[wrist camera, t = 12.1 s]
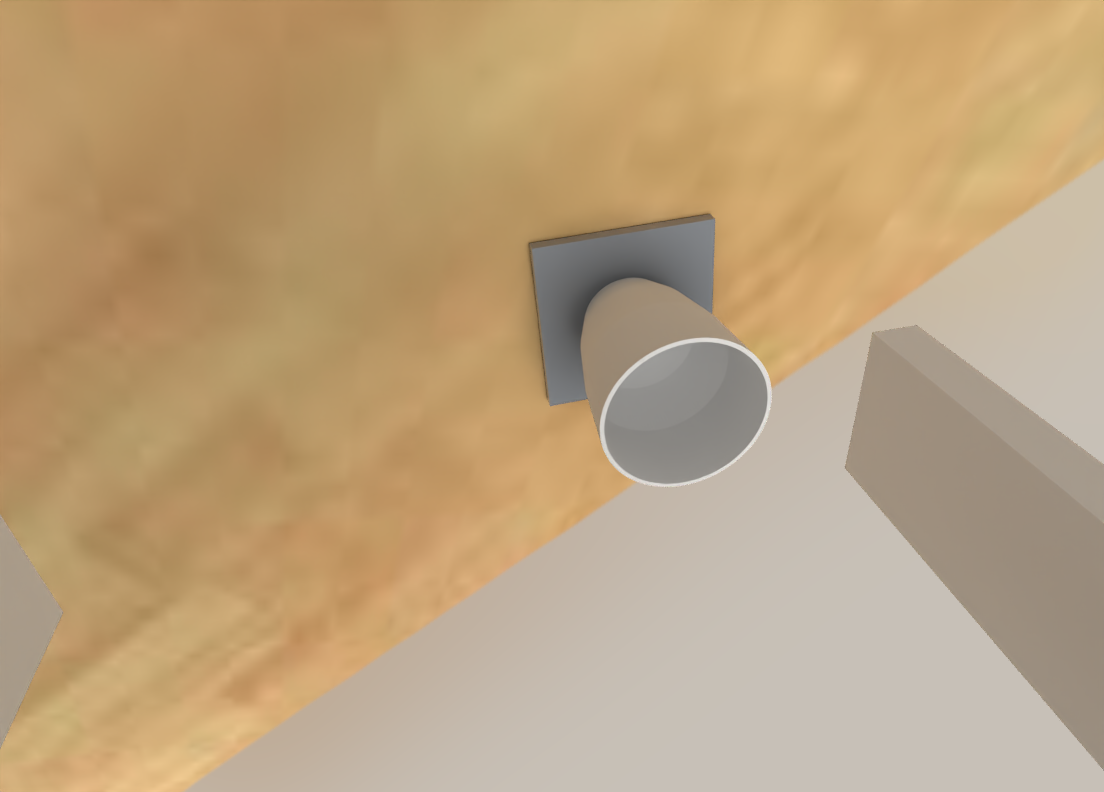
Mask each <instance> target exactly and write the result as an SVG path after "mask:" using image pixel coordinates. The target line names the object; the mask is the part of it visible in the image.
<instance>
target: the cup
mask: <svg viewBox="0 0 1104 792" xmlns="http://www.w3.org/2000/svg"><path fill="white" fill-rule="evenodd" d="M581 357H582V366H583V374H584V383H585V390H586V395H587V398H588V401H589V404H590V408H591V411H592V414H593V418H594V421H595V424H596V427H597V431H598V434H599V437H600V440H601V444H602V447H603V450H604V452H605V454H606V456H607V458H608V459H609V461H610V462H611V464H612V465H613V466H614V467H615V468H616V469H617V470H618V471H619V472H621V473H622V474H623V475H625V476H626V477H628V478H630V479H632V480H634V481H636V482H639V483H642V484H646V485H651V486H659V487H673V486H682V485H688V484H692V483H695V482H699V481H701V480H704V479H707V478H709V477H711V476H713V475H715V474H717V473H719V472H721V471H723V470H724V469H726V468H727V467H729V466H730V465H732V464H733V463H734V462H735V461H737V460H738V459H739V458H740V457H741V456H743V454H745V453H746V452H747V451H748V449H749V448H750V447H751V446H752V445H753V444H754V442H755V441H756V439H757V438H758V437H759V435H760V433H761V431H762V430H763V428H764V426H765V423H766V421H767V418H768V415H769V412H770V408H771V401H772V390H771V383H770V379H769V376H768V374H767V371H766V369H765V368H764V366H763V364H762V363H761V362H760V360H759V359H758V358H757V357H756V356H755V355H754V354H753V353H752V352H751V351H750V350H749V349H748V348H747V347H746V346H745V345H744V344H743V343H742V342H741V341H740V340H739V339H738V338H737V337H736V336H735V335H733V334H732V333H731V332H730V331H729V330H728V329H727V328H726V327H725V326H724V325H723V324H722V323H721V322H720V321H719V320H718V319H717V318H716V317H715V316H714V315H713V314H711V313H710V312H708V311H707V310H705V309H704V308H702V307H701V306H699V305H698V304H696V303H695V302H693V301H692V300H690V299H689V298H687V297H686V296H684V295H683V294H681V293H680V292H678V291H677V290H675V289H673V288H671V287H668V286H665V285H662V284H659V283H656V282H653V281H650V280H647V279H643V278H635V277H632V278H624V279H620V280H617V281H614V282H612V283H610V284H608V285H607V286H605V287H604V288H602V289H601V290H600V291H599V292H598V293H597V294H596V295H595V296H594V297H593V299H592V300H591V302H590V303H589V305H588V307H587V310H586V313H585V317H584V324H583V330H582V336H581Z"/></svg>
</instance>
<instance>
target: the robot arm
mask: <svg viewBox="0 0 1104 792" xmlns="http://www.w3.org/2000/svg"><path fill="white" fill-rule="evenodd" d="M845 469H846V470H847V471H848V472H849V473H850V475H851V476H852V477H853V478H854V479H855V480H856V482H857V483H858V484H859V485H860V486H861V487H862V489H863V490H864V491H865V492H866V493H867V494H868V496H869V497H870V498H871V499H872V500H873V501H874V503H875V504H876V505H877V506H878V507H879V508H880V509H881V511H882V512H883V513H884V514H885V515H886V517H887V518H888V519H889V520H890V521H891V522H892V524H893V525H894V526H895V527H896V528H897V529H898V530H899V532H900V533H901V534H902V535H903V536H904V538H905V539H906V540H907V541H908V542H909V543H910V545H912V547H913V548H914V549H915V550H916V552H917V553H918V554H919V555H920V556H921V557H922V559H923V560H924V561H925V562H926V563H927V564H928V566H929V567H930V568H931V569H932V570H933V571H934V573H935V574H936V575H937V576H938V577H939V578H940V580H941V581H942V582H943V583H944V584H945V586H946V587H947V588H948V589H949V590H950V591H951V593H952V594H953V595H954V596H955V597H956V598H957V600H958V601H959V602H960V603H961V604H962V605H963V606H964V608H965V609H966V610H967V611H968V612H969V613H970V615H971V616H972V617H973V618H974V619H975V620H976V622H977V623H978V624H979V625H980V626H981V628H982V629H983V630H984V631H985V632H986V633H987V635H989V637H990V638H991V639H992V640H993V641H994V643H995V644H996V645H997V646H998V647H999V649H1000V650H1001V651H1002V652H1003V653H1004V654H1005V656H1006V657H1007V658H1008V659H1009V660H1010V661H1011V663H1012V664H1013V665H1014V666H1015V667H1016V668H1017V670H1018V671H1019V672H1020V673H1021V674H1022V675H1023V677H1024V678H1025V679H1026V680H1027V681H1028V682H1029V684H1030V685H1031V686H1032V687H1033V688H1034V689H1035V691H1036V692H1037V693H1038V694H1039V695H1040V696H1041V698H1042V699H1043V700H1044V701H1045V702H1046V703H1047V705H1048V706H1049V707H1050V708H1051V709H1052V710H1053V711H1054V713H1055V714H1056V715H1057V716H1058V717H1059V719H1060V720H1061V721H1062V722H1063V723H1064V724H1065V726H1066V727H1067V728H1068V729H1069V730H1070V731H1071V733H1072V734H1073V735H1074V736H1075V737H1076V738H1077V740H1078V741H1079V742H1080V743H1081V744H1082V746H1083V747H1084V748H1085V749H1086V750H1087V751H1088V752H1089V754H1090V755H1091V756H1092V757H1093V758H1094V759H1095V761H1096V762H1097V763H1098V764H1099V765H1100V767H1101V768H1102V769H1103V770H1104V464H1102V463H1101V462H1100V461H1098V460H1097V459H1096V458H1095V457H1093V456H1092V455H1091V454H1089V453H1088V452H1086V451H1085V450H1084V449H1082V448H1081V447H1080V446H1078V445H1077V444H1076V443H1074V442H1073V441H1072V440H1070V439H1069V438H1068V437H1066V436H1065V435H1064V434H1062V433H1061V432H1059V431H1058V430H1057V429H1056V428H1054V427H1053V426H1052V425H1050V424H1049V423H1047V422H1046V421H1045V420H1044V419H1042V418H1041V417H1039V416H1038V415H1037V414H1035V413H1034V412H1033V411H1031V410H1030V409H1029V408H1027V407H1026V406H1024V405H1023V404H1022V403H1021V402H1019V401H1018V400H1017V399H1015V398H1014V397H1013V396H1011V395H1010V394H1009V393H1007V392H1006V391H1005V390H1003V389H1002V388H1001V387H999V386H998V385H997V384H995V383H994V382H992V381H991V380H990V379H988V378H987V377H986V376H984V375H983V374H982V373H980V372H979V371H978V370H976V369H975V368H974V367H972V366H971V365H970V364H968V363H967V362H966V361H964V360H963V359H962V358H960V357H959V356H958V355H956V354H955V353H953V352H952V351H951V350H949V349H948V348H947V347H945V346H944V345H943V344H941V343H940V342H939V341H937V340H936V339H935V338H933V337H932V336H931V335H929V334H928V333H927V332H925V331H924V330H923V329H921V328H920V327H918V326H917V325H915V326H909V327H903V328H896V329H890V330H884V331H878V332H873V333H872V338H871V342H870V347H869V352H868V357H867V362H866V367H865V372H864V377H863V382H862V386H861V392H860V396H859V402H858V407H857V411H856V416H855V421H854V426H853V431H852V436H851V440H850V445H849V450H848V455H847V460H846V465H845ZM62 614H63V611H62V609H61V608H60V606H59V605H58V603H57V602H56V600H55V598H54V597H53V595H52V594H51V592H50V591H49V589H48V588H47V586H46V585H45V583H44V581H43V580H42V578H41V577H40V575H39V574H38V572H37V571H36V569H35V568H34V566H33V564H32V563H31V561H30V560H29V558H28V557H27V555H26V554H25V552H24V550H23V549H22V547H21V546H20V544H19V543H18V541H17V540H16V538H15V537H14V535H13V533H12V532H11V530H10V529H9V527H8V526H7V524H6V523H5V521H4V520H3V518H2V516H1V515H0V748H1V746H2V744H3V742H4V739H5V737H6V735H7V733H8V731H9V729H10V726H11V724H12V722H13V720H14V718H15V716H16V713H17V711H18V709H19V707H20V705H21V703H22V700H23V698H24V696H25V694H26V692H27V690H28V687H29V685H30V683H31V681H32V679H33V677H34V674H35V672H36V670H37V668H38V666H39V664H40V661H41V659H42V657H43V655H44V653H45V651H46V648H47V646H48V644H49V642H50V640H51V638H52V635H53V633H54V631H55V629H56V627H57V625H58V623H59V620H60V618H61V616H62Z"/></svg>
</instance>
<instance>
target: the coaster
mask: <svg viewBox="0 0 1104 792" xmlns="http://www.w3.org/2000/svg"><path fill="white" fill-rule="evenodd" d="M714 239H715V218H714V217H712V216H711V215H710V214H707V215H700V216H694V217H688V218H682V219H676V220H670V221H664V222H657V223H651V224H645V225H639V226H633V227H627V228H620V229H614V230H608V231H602V232H596V233H590V234H584V235H577V236H571V237H565V238H559V239H553V240H547V241H541V242H534V243H529V245H530V254H531V262H532V271H533V279H534V288H535V296H536V305H537V313H538V322H539V330H540V339H541V347H542V356H543V364H544V373H545V381H546V390H547V398H548V402H549V405H550V406H553V405H558V404H564V403H569V402H574V401H580V400H585V399H588V398H587V395H586V390H585V383H584V374H583V366H582V357H581V336H582V330H583V324H584V317H585V313H586V310H587V307H588V305H589V303H590V302H591V300H592V299H593V297H594V296H595V295H596V294H597V293H598V292H599V291H600V290H601V289H602V288H604V287H605V286H607V285H608V284H610V283H612V282H614V281H617V280H620V279H624V278H632V277H635V278H643V279H647V280H650V281H653V282H656V283H659V284H662V285H665V286H668V287H671V288H673V289H675V290H677V291H678V292H680V293H681V294H683V295H684V296H686V297H687V298H689V299H690V300H692V301H693V302H695V303H696V304H698V305H699V306H701V307H702V308H704V309H705V310H707V311H708V312H710V313H711V314H712V300H713V269H714Z"/></svg>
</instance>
